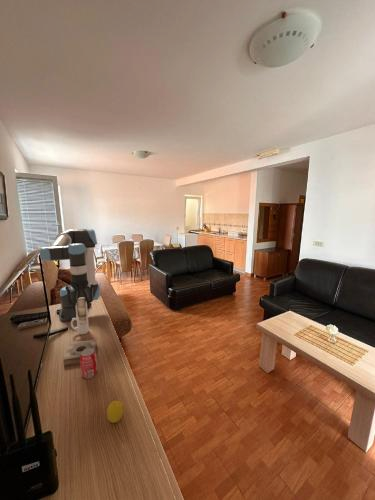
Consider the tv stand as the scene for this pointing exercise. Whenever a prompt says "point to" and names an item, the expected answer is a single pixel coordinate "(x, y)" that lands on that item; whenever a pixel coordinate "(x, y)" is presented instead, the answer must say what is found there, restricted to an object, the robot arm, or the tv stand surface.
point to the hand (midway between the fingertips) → (82, 315)
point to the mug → (80, 326)
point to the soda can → (88, 363)
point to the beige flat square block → (77, 351)
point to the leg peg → (81, 310)
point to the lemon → (115, 411)
